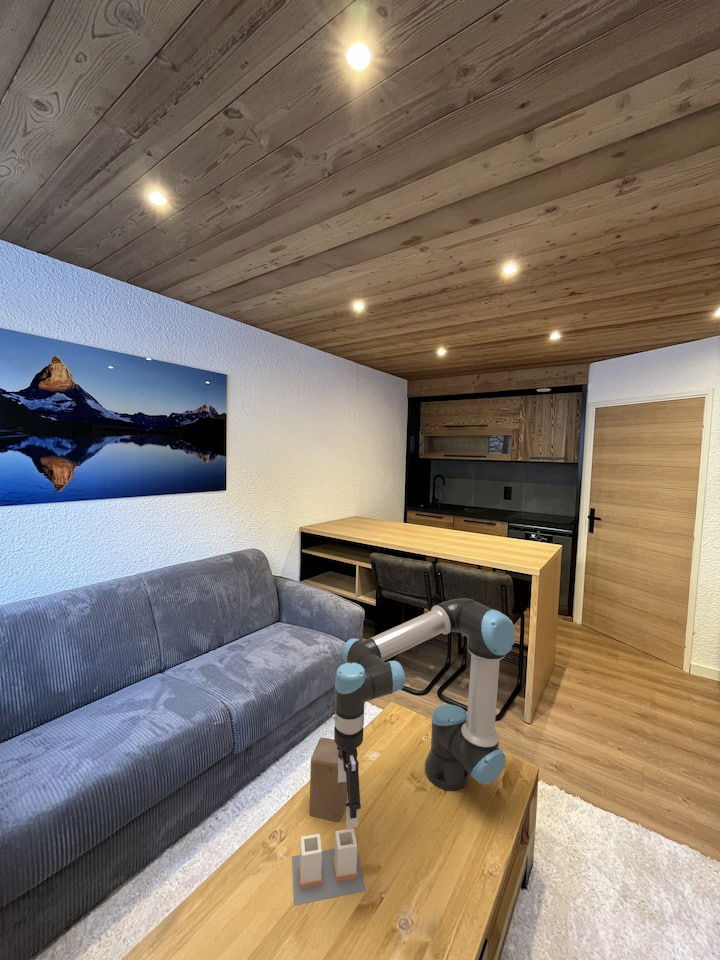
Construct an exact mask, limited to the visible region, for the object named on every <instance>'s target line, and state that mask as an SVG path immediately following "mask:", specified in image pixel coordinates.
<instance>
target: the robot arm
mask: <svg viewBox="0 0 720 960" xmlns="http://www.w3.org/2000/svg"><path fill="white" fill-rule="evenodd" d="M450 633H460V634H461V635H463V636H464V637H466V638H467V641H466V649H467V652H468V653H469V654H470V655H471V656H470V668H469V669H470V670H469V683H468V696H467V699H468V700H467V712H466V710H465V709H464V708H463V707H460V706H458V705H455V704H442V705H439V706H437V707H435V708H434V710H433V712H432V718H431V738H430V739H431V743H430V744H431V745H430V748H429V749H430V750H429V752H428V754H427V757H426V759H425V763H424V771H425V775H426V777H427V778H428V780H429V781H430V782H431V783H432V784H433V785H435V786H436V787H438V788H440V789H442V790H445V791H453V792H454V791H458V790H462V789H464V787H466V786H467V784H468V782H469V776H470V777H471V778H472V779H474V780H475V781H477V783H479V784H481V785H484V786H485V785H489V784H491V783H493V782H495V781H496V780H497V779H498V778H499V777H500V775H501V773H502V772H503V771H504V768H505V765H506V763H507V757H506V754H505V753H504V751H503V750H502V749H500V747H499V744H500V743H499V741H500V736H499V733H498V731H497V730H496V729H495V726H496V714H497V702H498V701H497V699H498V688H499V687H498V686H499V674H500V673H499V672H500V663H501V662H500V661H501V660H503V659H504V658H505V657H506V655H507V654H509V653H510V652H511V651H512V648H513V646H514V644H515V641H516V629H515V624H514V623H513V621H512V620H511V619H510V617H509V616H507V615H506V614H504V613H502V612H501V611H499V610H497V609H493V608H491V607H489V606H487V605H485V604H482V603H480V602H478V601H477V600H475V599H472V598H466V597H465V598H462V597H460V598H455V599H450V600H449V599H448V600H446V601H443V602H441V603H438V604H436V605H433V606H432V607H431V609H430V611H428V612H425V613H423V614H421V615H419V616H417V617H414V618H412V619H410V620H408V621H405V622H403V623H401V624H399V625H397V626H394V627H392V628H390V629H387V630H385V631H383V632H380V633H379V634H377V635H375V636H372V637H370V638H368V639H365V640H363V641H362V640H361V639H359V638H354V637H353V638H350V639H348V640H347V641H346V642H345V643H344V644H343V646H342V650H341V657H342V658H343V660H344V662H345V663H343V664H341V665H339V667H337V670H336V673H335V674H336V675H335V681H334V682H335V683H334V692H335V693H334V694H335V695H334V701H335V702H334V713H335V714H333V715H332V720H334V732H333V734H334V735H333V738H334V740H335V743H336V744H337V750H339V752H338V757H340V759H338V783H340V782H347V801H346V803H345V807H346V820H345V821H346V823H345V824H346V829H351V828H357V827H358V826H359V810H361V807H362V806H361V793H360V775H359V764H360V762H359V760H358V749H357V748H359V747H360V746H361V745H362V743H363V741H364V727H365V726H364V725H365V724H364V723H365V703H366V702H369V701H372V700H374V699H375V700H376V699H378V698H381V697H384V696H388V695H393V693H396V692H398V691H400V690H403V688H404V687H405V684H406V673H405V671H404V668H403V666H402V665H401V663H400V662H399V661H396V660H389V659H392V658H393V657H395V656H397V655H399V654H401V653H403V652H405V651H407V650H410V649H411V648H413V647H417V646H418V645H420V644H422V643H424V642H426V641H428V640H430V639H432V638H434V637H436V636H438V635H440V634H443V635H448V634H450ZM387 660H388V661H387ZM385 661H386V662H385Z"/></svg>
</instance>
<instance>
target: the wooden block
mask: <svg viewBox="0 0 720 960" xmlns="http://www.w3.org/2000/svg"><path fill="white" fill-rule="evenodd" d="M338 752H339V750H337V744H336V743H335V740H334V739H332V738H327V737H319V739H318V741H317V744H316V746H315V749H314V750H313V753H312V755H311V758H310V773H309V774H310V777H309V816H310V817H312V818H317V819H321V820H325V821H330V822H334V823H340V822H341V821H342V818H343V814H344V810H345V807H346V806H345V803H347V801H348V794H347V782H340V783H338V759H340V757H338Z"/></svg>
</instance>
